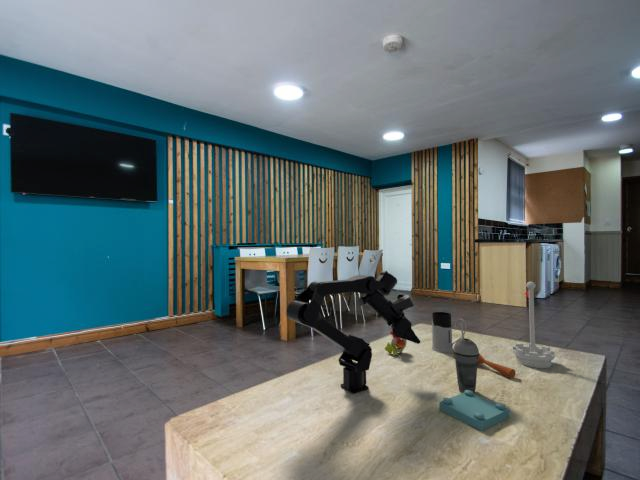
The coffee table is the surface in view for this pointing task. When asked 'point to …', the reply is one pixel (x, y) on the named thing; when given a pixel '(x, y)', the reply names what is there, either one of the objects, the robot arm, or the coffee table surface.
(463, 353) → the beverage cup
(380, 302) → the robot arm
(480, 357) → the kendama
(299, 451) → the coffee table surface
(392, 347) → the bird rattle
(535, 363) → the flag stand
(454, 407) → the base brick
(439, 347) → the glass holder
